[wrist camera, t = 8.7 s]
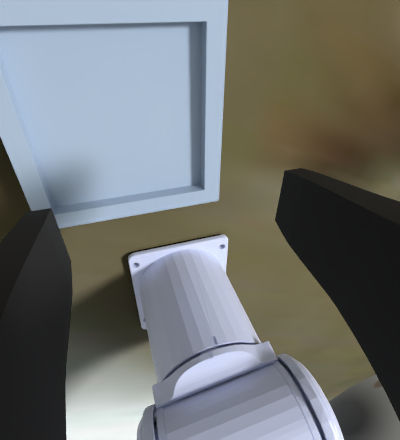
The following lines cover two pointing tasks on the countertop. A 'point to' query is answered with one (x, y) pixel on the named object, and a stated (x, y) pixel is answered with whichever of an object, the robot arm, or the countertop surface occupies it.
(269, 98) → the countertop surface
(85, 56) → the dish
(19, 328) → the robot arm
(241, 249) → the countertop surface
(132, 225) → the countertop surface
